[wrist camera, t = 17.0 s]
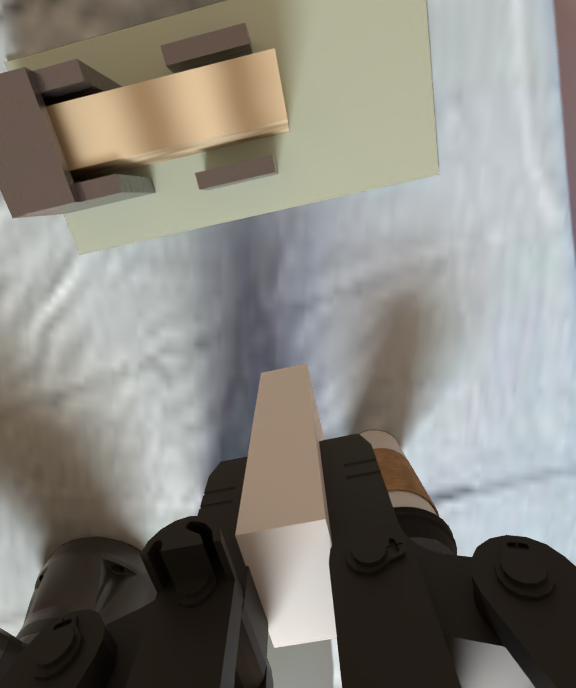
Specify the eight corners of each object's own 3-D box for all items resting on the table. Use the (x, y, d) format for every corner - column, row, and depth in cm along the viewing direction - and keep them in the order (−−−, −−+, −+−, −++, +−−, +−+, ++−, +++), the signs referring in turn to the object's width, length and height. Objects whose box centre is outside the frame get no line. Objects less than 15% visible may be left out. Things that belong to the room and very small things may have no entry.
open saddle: (208, 190, 34) (199, 189, 30) (175, 61, 30) (160, 45, 27) (277, 174, 33) (275, 171, 30) (251, 41, 30) (245, 22, 27)
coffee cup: (353, 408, 41) (382, 519, 27) (426, 435, 42) (490, 556, 28) (321, 469, 44) (332, 599, 30) (389, 493, 45) (431, 629, 31)
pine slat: (81, 180, 34) (37, 178, 28) (62, 128, 32) (12, 114, 27) (289, 132, 32) (287, 118, 26) (279, 75, 31) (274, 48, 25)
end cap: (123, 87, 31) (70, 54, 24) (155, 192, 34) (116, 192, 26) (27, 112, 32) (-53, 88, 25) (66, 213, 35) (4, 218, 27)
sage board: (81, 254, 36) (79, 254, 36) (7, 63, 31) (4, 62, 31) (437, 174, 33) (438, 174, 33) (420, -51, 28) (422, -54, 28)
